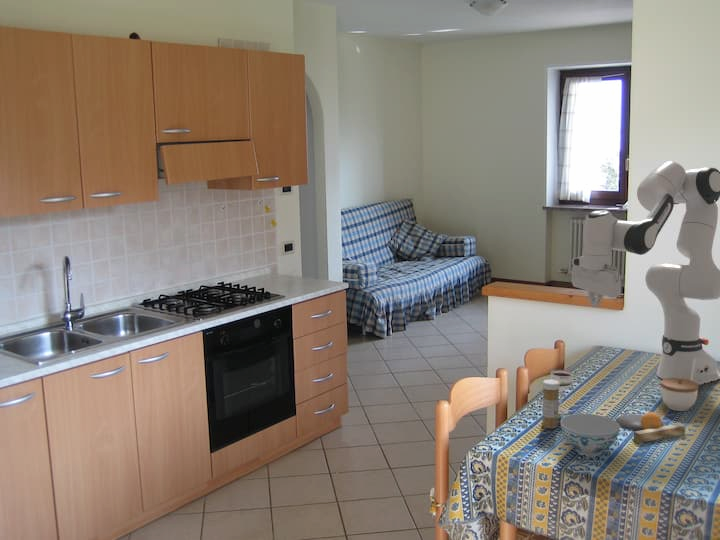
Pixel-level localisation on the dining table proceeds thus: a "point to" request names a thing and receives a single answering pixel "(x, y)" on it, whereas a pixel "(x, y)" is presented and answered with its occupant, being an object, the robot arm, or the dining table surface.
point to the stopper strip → (659, 433)
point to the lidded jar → (679, 393)
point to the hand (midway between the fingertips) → (594, 305)
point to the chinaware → (589, 432)
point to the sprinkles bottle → (550, 403)
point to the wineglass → (562, 384)
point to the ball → (650, 420)
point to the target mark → (631, 422)
